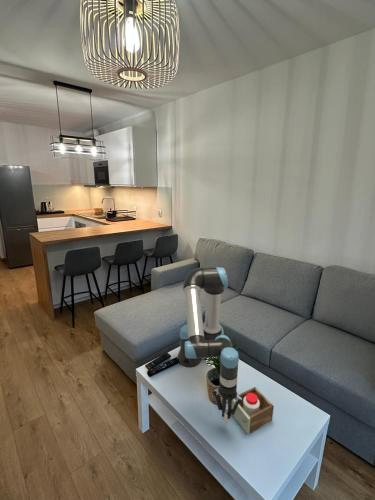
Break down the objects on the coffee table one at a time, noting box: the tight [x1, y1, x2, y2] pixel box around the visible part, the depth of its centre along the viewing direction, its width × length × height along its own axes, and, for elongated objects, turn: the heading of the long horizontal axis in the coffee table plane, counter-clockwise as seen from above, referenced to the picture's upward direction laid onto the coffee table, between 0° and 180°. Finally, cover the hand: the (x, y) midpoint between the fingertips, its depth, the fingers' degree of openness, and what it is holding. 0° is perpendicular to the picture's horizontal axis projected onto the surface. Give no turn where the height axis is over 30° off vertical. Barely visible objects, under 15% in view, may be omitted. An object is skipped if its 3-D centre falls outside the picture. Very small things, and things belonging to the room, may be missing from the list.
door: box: [231, 399, 251, 435], centre depth 124 cm, size 13×2×9 cm, turn 28°
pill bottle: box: [243, 393, 260, 417], centre depth 126 cm, size 8×8×11 cm
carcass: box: [234, 386, 275, 434], centre depth 127 cm, size 13×14×9 cm
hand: (226, 422), depth 121 cm, fingers closed
